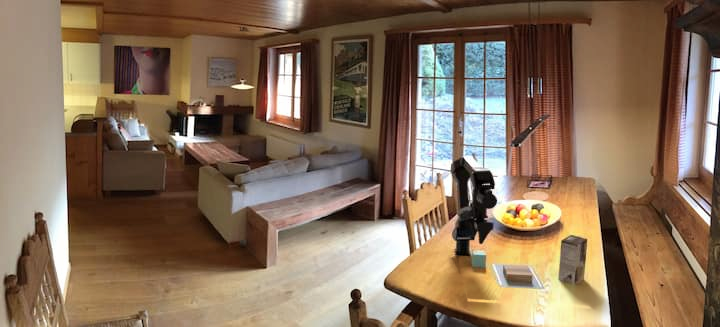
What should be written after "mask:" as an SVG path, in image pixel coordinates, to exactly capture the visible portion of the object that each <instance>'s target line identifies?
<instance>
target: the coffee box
mask: <svg viewBox="0 0 720 327" xmlns="http://www.w3.org/2000/svg"><path fill="white" fill-rule="evenodd" d="M587 247H588V238H586V237H585V238H584V237H581V236H578V235H573V234H569V235H568V236H566V237H565V238H563V239H561V243H560V253H559V254H560V255H559V263H558V264H559V267H558V276H557V277H558V278H557V279H558V280H559V281H562V282H565V283H569V284H573V285H575V286H577V285H578V284H579V283H580V282H581V283H582V281H583V280H585V273H586V260H587Z"/></svg>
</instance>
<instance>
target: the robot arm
mask: <svg viewBox="0 0 720 327" xmlns="http://www.w3.org/2000/svg"><path fill="white" fill-rule="evenodd" d="M474 158H475V157H474V156H472V155H462V156H460V157H459V158H458V159H456V160H454V161H453V162H452V164H451V166H450V173H451V175H452V179H453V180H454V182H455V183H456V193H457V195H456V197H457V210H456V214H457V220H456V221H455V223H454V225H455V226H454V228H453V230H452V232H451V238H452V239H453V241H455V248H454V255H456V256H472V252H471V250H470V247H471V246H470V245H471V244H470V243H471V241H475V238H476V236H478V244H479V245H483V243H484V242H485V240H486V239H487V238H488V235H489V234H490V232H492V231H493V230H494V223H493V222H492V221H491V220H490V219H489V215H488V210H490V209H494V208H495V207H496V205H497V204H498V199H497V196H496V195H495V194H494V193H493V190H495V187H496V186H495V185H496V182H495V179H494V175H493V172H492V171H491V169H489V168H487V167H484V166H483V167H482V166H481V165H480V164H479V163H478V162H477V161H476V160H475V159H474ZM469 181H470V183H471V186H472V197H471V198H472V199H471V201H470V200H469V186H468V183H469ZM469 201H470V202H469Z"/></svg>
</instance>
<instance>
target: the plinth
mask: <svg viewBox="0 0 720 327" xmlns="http://www.w3.org/2000/svg"><path fill="white" fill-rule="evenodd" d="M517 265H518V264H510V265H503V274H504V276H505V279H506V281H507V282H520V283H532V278H533V275H532V273H531V271H530V270H529V268H528V266H517Z"/></svg>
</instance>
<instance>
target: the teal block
mask: <svg viewBox="0 0 720 327" xmlns="http://www.w3.org/2000/svg"><path fill="white" fill-rule="evenodd" d="M470 259H471V262H470V263H471V266H472V268H486V267H487V266H486V264H487V254H486V251H485V250H478V249H472V250H471V258H470Z"/></svg>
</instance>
